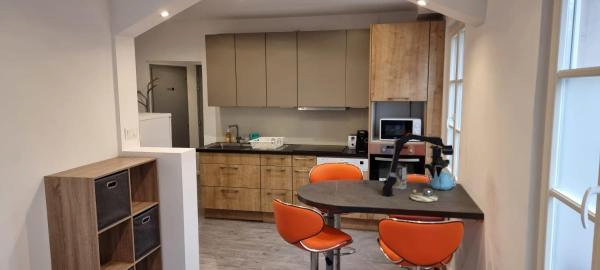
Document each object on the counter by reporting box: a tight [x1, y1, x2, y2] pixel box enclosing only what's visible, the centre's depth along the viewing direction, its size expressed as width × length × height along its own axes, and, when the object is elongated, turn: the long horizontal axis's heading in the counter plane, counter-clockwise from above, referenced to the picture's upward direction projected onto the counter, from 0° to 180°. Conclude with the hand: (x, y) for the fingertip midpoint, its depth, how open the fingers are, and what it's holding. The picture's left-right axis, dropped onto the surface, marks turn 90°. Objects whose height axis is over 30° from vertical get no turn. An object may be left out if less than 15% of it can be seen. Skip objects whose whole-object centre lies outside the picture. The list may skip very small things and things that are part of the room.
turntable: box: [409, 189, 439, 203], centre depth 266 cm, size 18×18×4 cm
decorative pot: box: [427, 170, 457, 191], centre depth 295 cm, size 16×16×14 cm
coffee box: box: [392, 165, 408, 190], centre depth 297 cm, size 9×6×16 cm
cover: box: [422, 188, 434, 197], centre depth 268 cm, size 6×6×4 cm
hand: (435, 177), depth 272 cm, fingers open, 5 cm apart
